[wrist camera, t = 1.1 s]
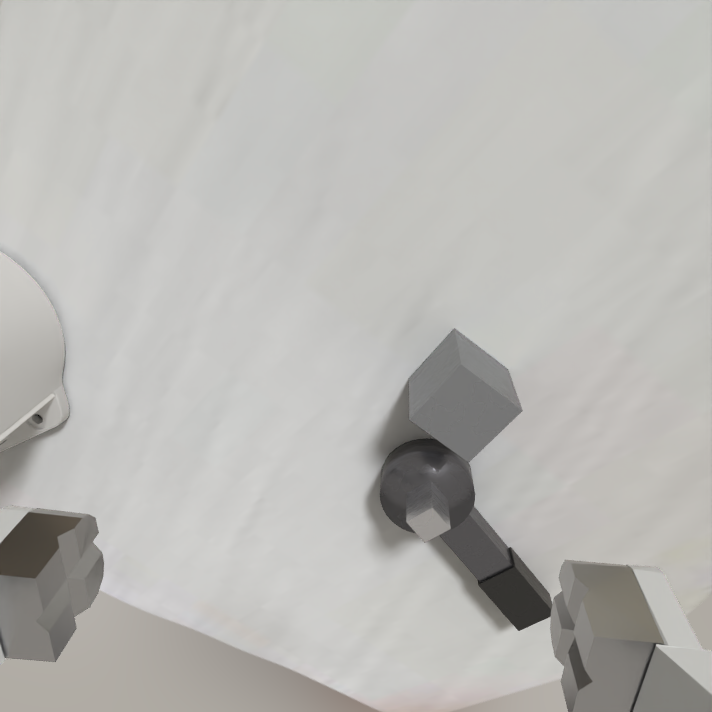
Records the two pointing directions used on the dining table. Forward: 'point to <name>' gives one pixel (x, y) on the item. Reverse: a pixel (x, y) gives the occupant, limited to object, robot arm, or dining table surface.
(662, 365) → the dining table surface
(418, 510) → the ratchet
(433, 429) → the plain grey cube block
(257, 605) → the dining table surface
